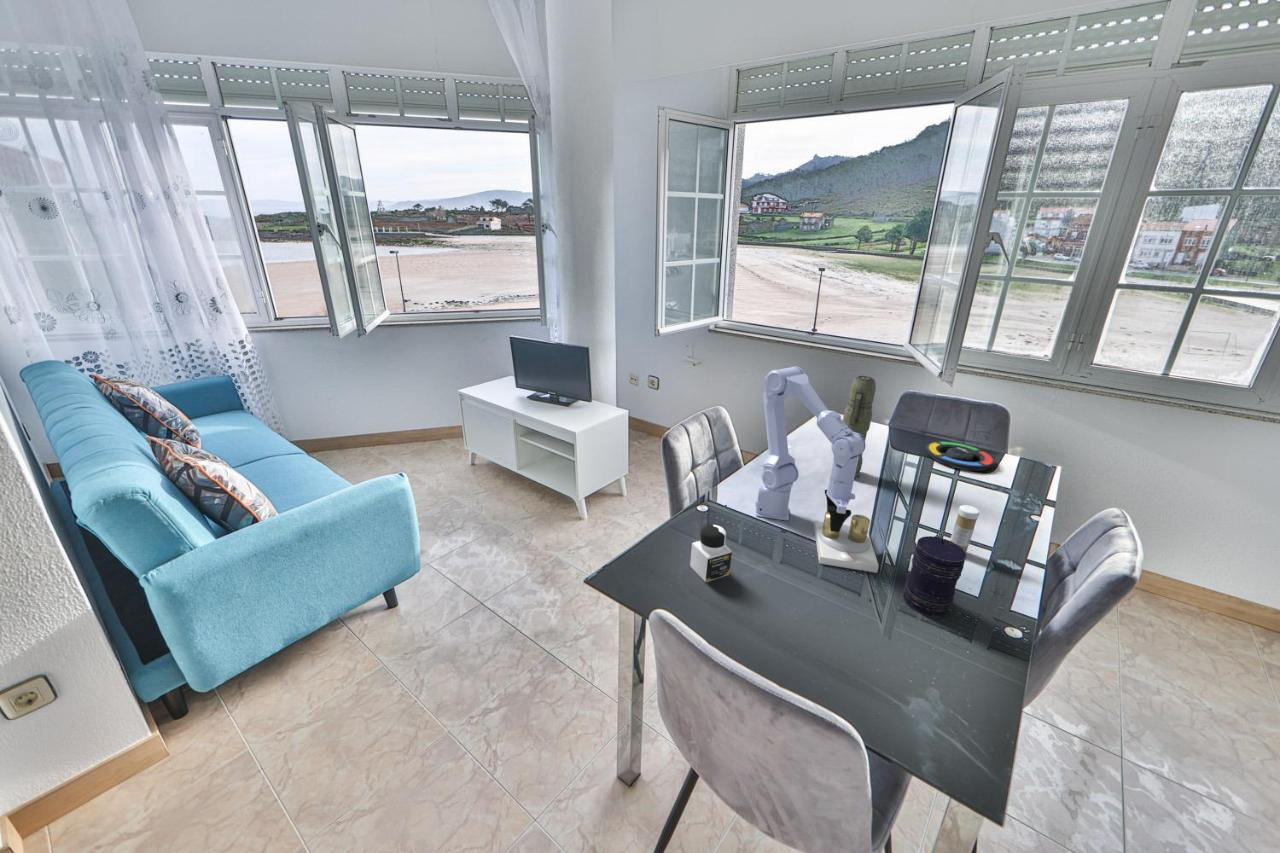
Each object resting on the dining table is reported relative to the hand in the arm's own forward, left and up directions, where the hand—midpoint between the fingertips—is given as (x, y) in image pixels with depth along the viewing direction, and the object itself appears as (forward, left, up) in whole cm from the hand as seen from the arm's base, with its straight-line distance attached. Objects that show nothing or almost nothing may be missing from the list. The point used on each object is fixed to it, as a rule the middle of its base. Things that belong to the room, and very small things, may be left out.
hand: (832, 523), depth 141 cm
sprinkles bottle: (+34, +5, -6) cm, 35 cm away
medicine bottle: (-30, -22, -6) cm, 38 cm away
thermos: (+11, +48, -6) cm, 50 cm away
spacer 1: (0, 0, -3) cm, 3 cm away
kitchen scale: (+4, -2, -6) cm, 7 cm away
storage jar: (+20, -20, -6) cm, 28 cm away
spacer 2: (+7, 0, -3) cm, 8 cm away
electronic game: (+55, +74, -7) cm, 93 cm away
